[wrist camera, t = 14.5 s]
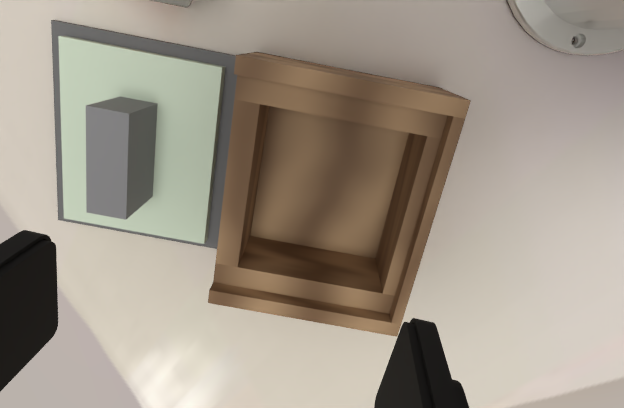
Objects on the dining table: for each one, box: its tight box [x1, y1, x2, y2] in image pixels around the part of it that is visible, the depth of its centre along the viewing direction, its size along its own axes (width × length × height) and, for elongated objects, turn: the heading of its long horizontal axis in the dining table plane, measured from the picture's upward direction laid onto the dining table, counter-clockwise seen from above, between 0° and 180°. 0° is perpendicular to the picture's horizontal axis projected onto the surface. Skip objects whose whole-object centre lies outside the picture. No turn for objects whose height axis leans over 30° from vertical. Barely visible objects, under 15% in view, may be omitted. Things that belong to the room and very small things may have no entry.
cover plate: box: [58, 36, 225, 244], centre depth 29 cm, size 11×13×6 cm
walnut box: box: [208, 52, 470, 336], centre depth 29 cm, size 13×16×7 cm
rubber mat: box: [51, 20, 237, 249], centre depth 32 cm, size 15×13×1 cm
